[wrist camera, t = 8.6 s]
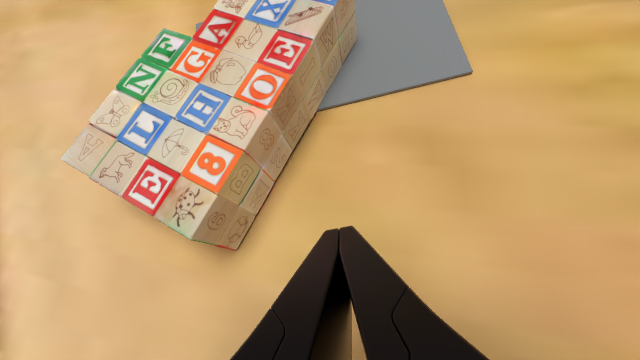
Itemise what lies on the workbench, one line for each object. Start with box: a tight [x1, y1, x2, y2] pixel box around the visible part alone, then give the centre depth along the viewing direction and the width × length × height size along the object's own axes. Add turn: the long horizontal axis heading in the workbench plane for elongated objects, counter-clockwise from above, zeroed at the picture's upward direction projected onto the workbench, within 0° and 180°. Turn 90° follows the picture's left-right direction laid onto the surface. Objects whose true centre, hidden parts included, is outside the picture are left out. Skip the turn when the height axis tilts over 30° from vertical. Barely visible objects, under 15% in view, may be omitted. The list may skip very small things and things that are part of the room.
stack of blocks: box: [61, 0, 357, 250], centre depth 24 cm, size 21×6×12 cm
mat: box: [196, 0, 473, 112], centre depth 28 cm, size 14×24×1 cm, turn 99°
